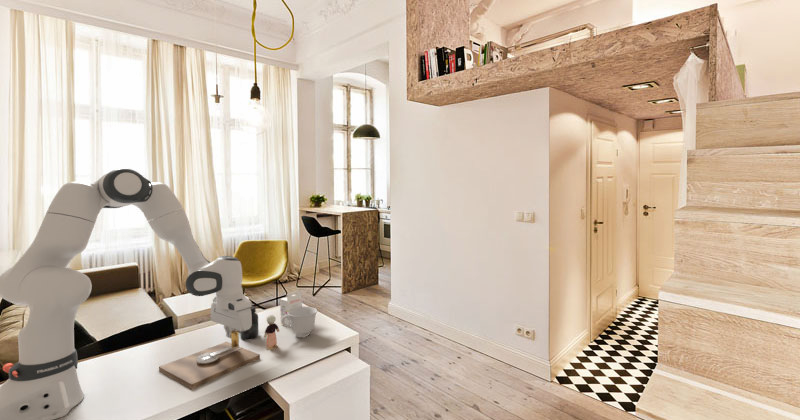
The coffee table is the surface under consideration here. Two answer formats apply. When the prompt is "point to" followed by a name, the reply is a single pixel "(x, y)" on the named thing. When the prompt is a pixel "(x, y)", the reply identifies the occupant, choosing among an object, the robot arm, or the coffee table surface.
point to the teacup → (301, 320)
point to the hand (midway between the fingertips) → (230, 337)
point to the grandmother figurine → (271, 333)
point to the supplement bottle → (253, 330)
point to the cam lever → (214, 356)
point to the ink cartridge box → (290, 304)
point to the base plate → (207, 365)
